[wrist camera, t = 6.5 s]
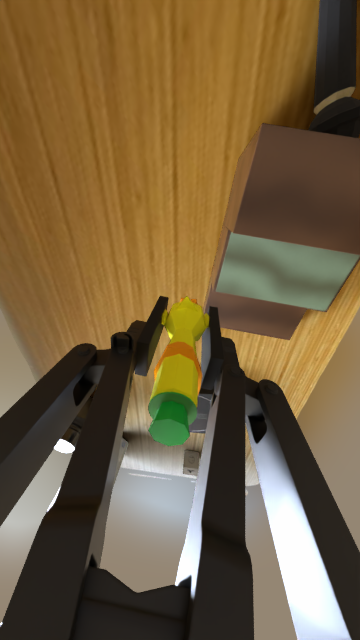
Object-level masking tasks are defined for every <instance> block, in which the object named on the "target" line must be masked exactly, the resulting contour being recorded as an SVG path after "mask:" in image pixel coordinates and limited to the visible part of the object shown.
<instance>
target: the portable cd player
mask: <svg viewBox="0 0 360 640" xmlns="http://www.w3.org/2000/svg"><path fill="white" fill-rule="evenodd" d="M213 393H214V386H213V389H212V390H209V389H204V388H201V387H200V391H199V394H198V397H197V407H196V408H197V416H196V419H195V420H194V422H193V423H191V424H190V425H189V432H193V433H206V428H207V422H208V417H209V411H210V406H211V404H210V401H211V398H212V396H213Z"/></svg>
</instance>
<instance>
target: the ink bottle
mask: <svg viewBox="0 0 360 640" xmlns="http://www.w3.org/2000/svg"><path fill="white" fill-rule="evenodd" d="M91 402H92V398H88V400H87V401H86V403H85V404H84V406H83V407H82V408H81V410H80V411H79V413H78V414H77V416H76V417H75V419H74V420H73V422H72V423H71V424H70V426H69V427H68V429H67V430H66V432H65V433H64V435H63V436H62V438H61V439H60V440H59V442H58V443H57V445H56V446H55V449H56V450H58V451H61V452H66V453H72V452H73V451H74V449H75V446H76V443H77V440H78V438H79V435H80V432H81V429H82V427H83V424H84V421H85V419H86V416H87V413H88V410H89V408H90V405H91Z"/></svg>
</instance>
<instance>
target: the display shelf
mask: <svg viewBox="0 0 360 640" xmlns="http://www.w3.org/2000/svg"><path fill="white" fill-rule="evenodd" d="M359 260H360V139H359V138H353V137H347V136H341V135H334V134H328V133H322V132H315V131H309V130H303V129H297V128H290V127H284V126H278V125H271V124H265V123H262V125H261V126H260V128H259V129H258V131H257V132H256V134H255V135H254V137H253V138H252V140H251V141H250V143H249V144H248V146H247V147H246V149H245V150H244V152H243V153H242V154H241V156H240V157H239V159H238V164H237V168H236V172H235V176H234V180H233V185H232V189H231V193H230V197H229V202H228V206H227V210H226V214H225V218H224V223H223V227H222V231H221V235H220V239H219V244H218V248H217V252H216V256H215V260H214V265H213V269H212V273H211V277H210V281H209V286H208V290H207V294H206V298H205V302H204V307H203V313H204V315H205V314H206V313H207V312H208V308H209V306H213V307H218V314H219V322H220V327H221V328H226V329H232V330H237V331H242V332H248V333H253V334H259V335H264V336H269V337H275V338H280V339H286V340H290V338H291V337H292V335H293V333H294V331H295V330H296V328H297V326H298V324H299V323H300V321H301V319H302V317H303V315H304V314H305V312H306V310H307V309H312V310H317V311H323V312H327V310H328V309H329V307H330V306H331V304H332V302H333V301H334V299H335V298H336V296H337V294H338V293H339V291H340V290H341V288H342V287H343V285H344V283H345V282H346V280H347V279H348V277H349V276H350V274H351V272H352V271H353V269H354V268H355V266H356V265H357V263H358V261H359Z"/></svg>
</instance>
